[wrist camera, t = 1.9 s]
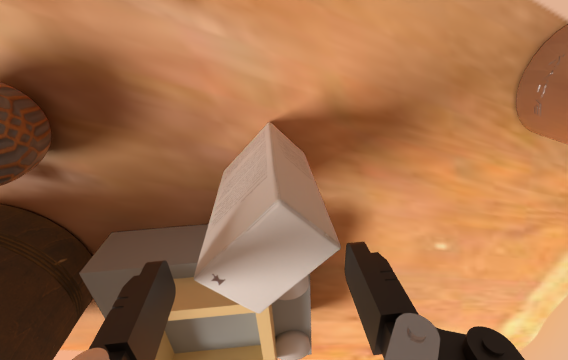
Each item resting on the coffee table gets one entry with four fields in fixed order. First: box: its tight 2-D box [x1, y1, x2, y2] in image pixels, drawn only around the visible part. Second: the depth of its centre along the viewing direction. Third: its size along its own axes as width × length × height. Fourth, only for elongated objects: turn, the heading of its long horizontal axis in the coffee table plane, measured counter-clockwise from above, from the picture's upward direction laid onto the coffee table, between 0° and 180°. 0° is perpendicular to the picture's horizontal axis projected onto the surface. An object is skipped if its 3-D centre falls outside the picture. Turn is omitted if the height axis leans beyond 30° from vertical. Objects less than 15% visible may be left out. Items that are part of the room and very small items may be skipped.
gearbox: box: [79, 224, 311, 360], centre depth 25 cm, size 18×14×8 cm
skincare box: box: [194, 122, 341, 314], centre depth 18 cm, size 6×4×12 cm
